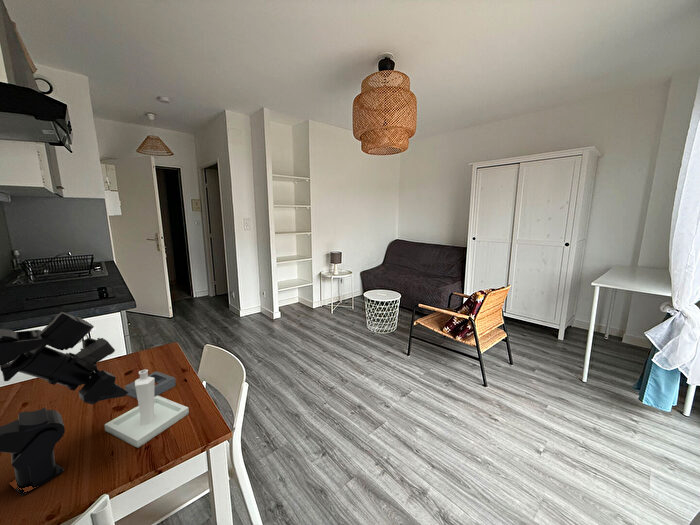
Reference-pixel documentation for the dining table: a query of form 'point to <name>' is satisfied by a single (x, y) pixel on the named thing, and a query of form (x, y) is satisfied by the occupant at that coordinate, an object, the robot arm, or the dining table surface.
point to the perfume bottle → (145, 397)
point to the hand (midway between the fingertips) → (119, 387)
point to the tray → (138, 435)
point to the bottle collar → (164, 385)
